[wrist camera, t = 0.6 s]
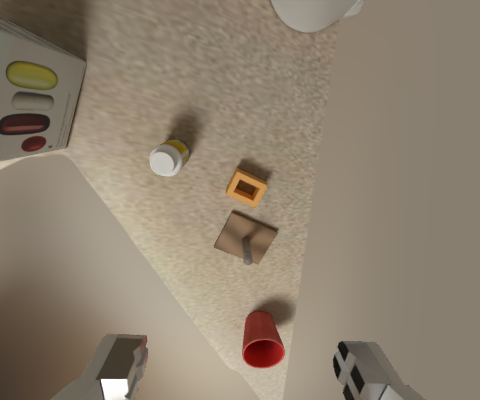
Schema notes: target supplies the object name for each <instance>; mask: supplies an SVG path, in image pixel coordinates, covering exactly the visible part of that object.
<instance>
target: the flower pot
mask: <svg viewBox="0 0 480 400" xmlns="http://www.w3.org/2000/svg"><path fill="white" fill-rule="evenodd" d="M284 355H285V350H284V346H283V344H282V341H281V339H280V336H279V334H278V331H277V329H276V326H275V324H274V322H273V320H272V317H271V316H270V315H269V314H268V313H266V312H263V311H257V312H253V313H251V314H250V315H249V316H248V317H247V319H246V322H245V330H244V339H243V350H242V356H243V360H244V361H245V362H246V363H247V364H248V365H250V366H252V367H254V368H269V367H272V366H275V365H276V364H278V363H279V362H280V361H281V360H282V359H283V358H284Z"/></svg>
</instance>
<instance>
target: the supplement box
mask: <svg viewBox="0 0 480 400" xmlns="http://www.w3.org/2000/svg"><path fill="white" fill-rule="evenodd" d="M85 68H86V62H85V61H84V60H82V59H80V58H79V57H77V56H75V55H73V54H71V53H69V52H67V51H65V50H63V49H62V48H60V47H58V46H56V45H54V44H52V43H50V42H48V41H46V40H44V39H43V38H41V37H39V36H37V35H35V34H33V33H31V32H29V31H27V30H26V29H24V28H22V27H20V26H18V25H16V24H14V23H12V22H10V21H8V20H5V19H2V18H0V161H4V160H10V159H15V158H20V157H25V156H30V155H34V154H39V153H44V152H49V151H54V150H59V149H64V148H66V145H67V141H68V136H69V132H70V128H71V124H72V120H73V116H74V112H75V108H76V104H77V100H78V96H79V92H80V88H81V84H82V80H83V76H84V72H85Z"/></svg>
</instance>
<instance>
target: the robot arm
mask: <svg viewBox="0 0 480 400" xmlns="http://www.w3.org/2000/svg"><path fill="white" fill-rule="evenodd" d="M271 1H272V4H273V7H274V9H275V11H276V13H277V14H278V16H279V17H280V18H281V19H282V21H283V22H284V23H285V24H287V25H288V26H289V27H291V28H293V29H295V30H297V31H301V32H316V31H320V30H322V29H324V28H326V27H328V26H330V25H331V24H333V23H334V22H336V21H338V20H340V19H348V18H352V17H354V16H356V15H357V14H358V12H359V11H360V10H361V8H362V5H363V3H364V0H271ZM146 343H147V336H146V335H127V334H106V335H105V336H104V337H103V339H102V341H101V342H100V344H99V346H98V347H97V349H96V351H95V352H94V354H93V356H92V358H91V359H90V361H89V363H88V365H87V367H86V368H85V370H84V372H83V373H82V375H81V377H80V379H79V380H74V381H73V382H71V383H70V384H69V385H68V386H66V387H65V388H64V389H63V390H62V391H60V392H59V393H58V394H57V395H55V396H54V397H53V398H52V399H51V400H135V398H136V395H137V392H138V381H139V380H140V379H141V378H142V377H143V374H144V371H145V368H146V363H147V358H148V349H147V348H146V347H145V346H146ZM338 349H339V351H338V352H336V353H335V354H334V358H333V367H334V371H335V375H336V377H337V380H338V381H339V382H340V383H341V384H342V385H343V386H344V388H343V394H344V397H345V399H346V400H426V399H424V398H423V397H422V396H421V395H420V394H418V393H417V392H416V391H415V390H414V389H412V388H411V387H410V386H409V385H404V383H403V382H402V380H401V379H400V377H399V375H398V374H397V372H396V371H395V369H394V368H393V366H392V365H391V363H390V362H389V360H388V359H387V357H386V355H385V354H384V353H383V351H382V350H381V348H380V346H379V345H378V344H377V343H376V342H362V341H341V342H339V344H338Z"/></svg>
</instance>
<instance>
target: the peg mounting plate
mask: <svg viewBox="0 0 480 400" xmlns="http://www.w3.org/2000/svg"><path fill="white" fill-rule="evenodd" d="M277 233H278V232H277V231H276V230H274V229H272V228H269V227H267V226H265V225H262V224H260V223H258V222H255V221H253V220H251V219H248V218H246V217H244V216H241V215H239V214H237V213H234V212H231V214H230V216H229V218H228V220H227V222H226V224H225V226H224V228H223V229H222V231H221V233H220V235H219V237H218V239H217V241H216V243H215V245H214V248H217V249H219V250H222V251H224V252H227V253H230V254H232V255H235V256H237V257H240V258H242V259H244V263H245V264H246V265H250V264H252V262H253V263H255V264H259V262H260V261H261V259H262V257H263V256H264V254H265V253H266V251H267V249H268V248H269V246H270V245H271V243H272V241H273V240H274V238H275V237H276V235H277Z"/></svg>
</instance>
